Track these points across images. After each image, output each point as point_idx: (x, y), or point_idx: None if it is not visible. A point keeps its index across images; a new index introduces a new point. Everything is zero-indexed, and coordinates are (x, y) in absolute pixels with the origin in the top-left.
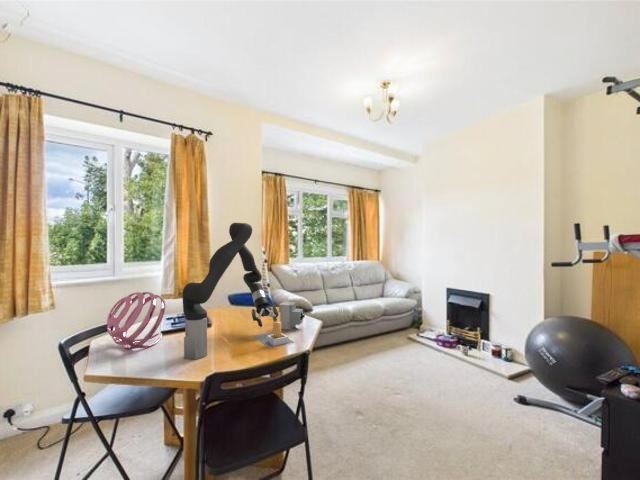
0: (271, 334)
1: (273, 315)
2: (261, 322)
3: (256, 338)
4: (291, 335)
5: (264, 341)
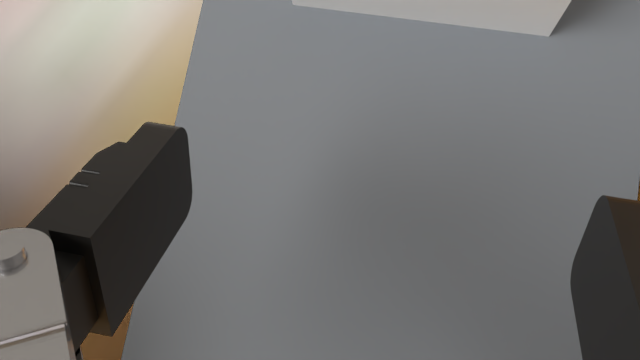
0: (278, 296)
1: (57, 280)
2: (625, 244)
3: None
4: (38, 104)
5: (587, 58)
